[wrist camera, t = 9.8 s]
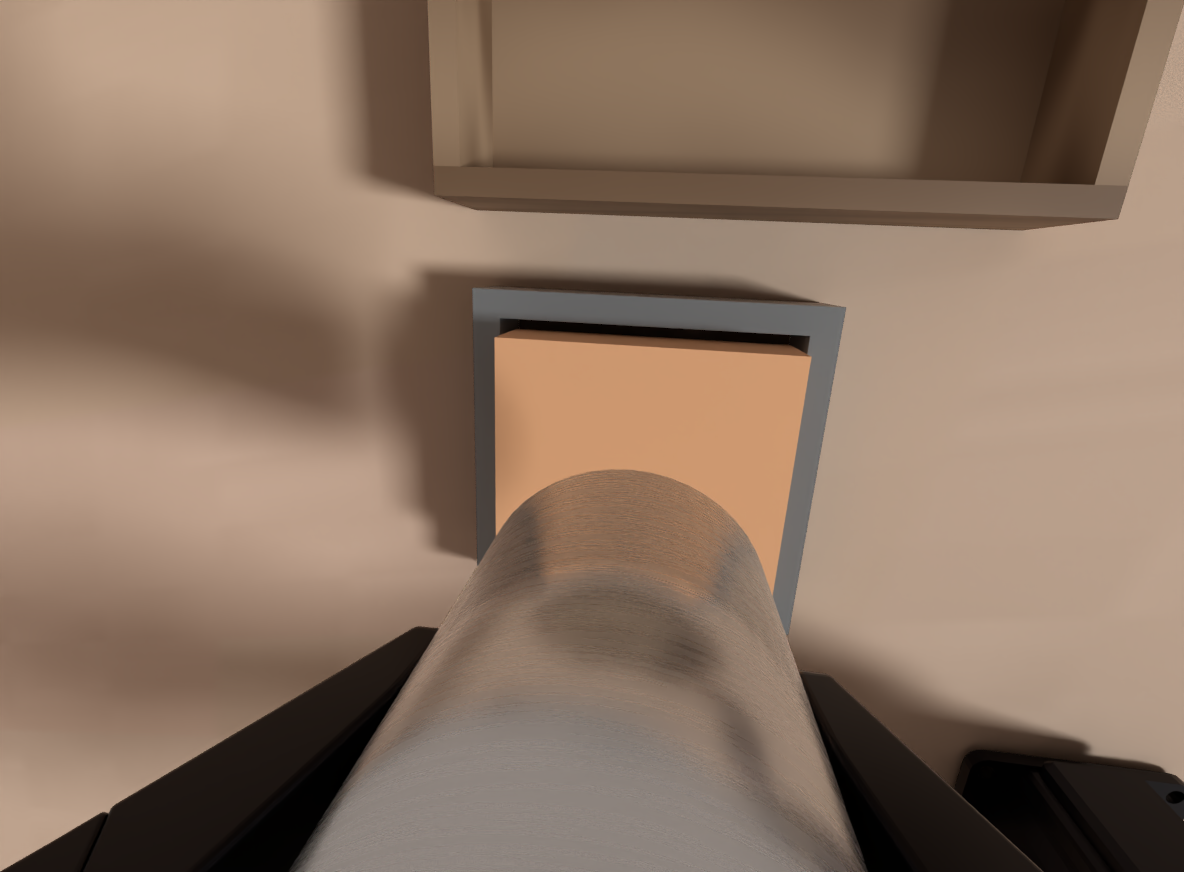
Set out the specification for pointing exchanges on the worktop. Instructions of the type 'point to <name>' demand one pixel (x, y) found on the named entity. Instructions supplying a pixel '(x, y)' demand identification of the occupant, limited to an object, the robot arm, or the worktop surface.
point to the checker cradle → (803, 321)
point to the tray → (797, 108)
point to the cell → (599, 708)
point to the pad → (652, 419)
